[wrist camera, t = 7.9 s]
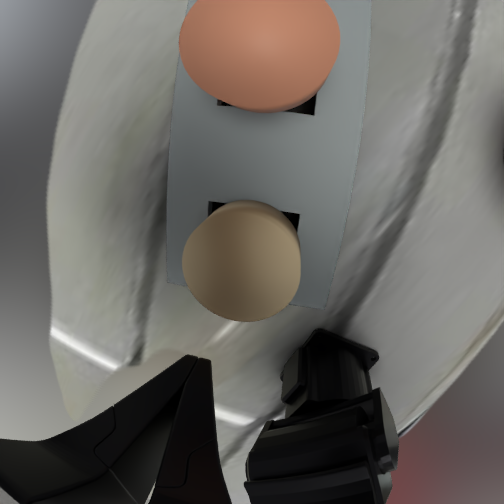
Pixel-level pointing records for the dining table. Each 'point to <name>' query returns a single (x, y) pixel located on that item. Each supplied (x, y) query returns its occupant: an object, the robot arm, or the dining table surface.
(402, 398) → the dining table surface
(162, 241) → the dining table surface
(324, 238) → the grey peg holder block
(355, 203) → the dining table surface
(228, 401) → the dining table surface
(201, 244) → the knob
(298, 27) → the knob middle
